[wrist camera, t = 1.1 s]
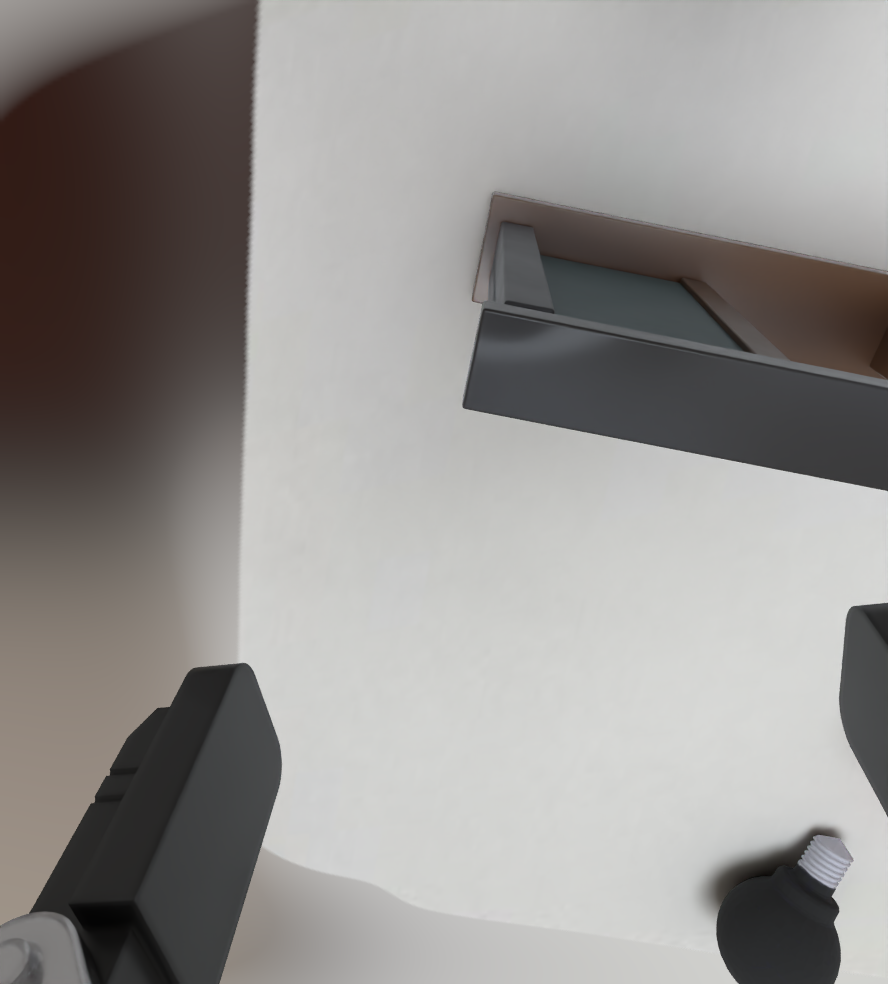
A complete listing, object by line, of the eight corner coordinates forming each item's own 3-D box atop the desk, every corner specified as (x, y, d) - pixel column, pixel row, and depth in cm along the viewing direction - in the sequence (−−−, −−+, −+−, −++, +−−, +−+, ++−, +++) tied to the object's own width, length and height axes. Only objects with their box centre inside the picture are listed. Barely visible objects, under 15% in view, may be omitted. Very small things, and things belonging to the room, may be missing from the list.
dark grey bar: (501, 220, 28) (505, 299, 18) (713, 263, 29) (841, 367, 18) (488, 285, 29) (483, 396, 19) (692, 326, 30) (800, 458, 19)
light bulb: (922, 900, 40) (822, 1060, 40) (864, 838, 46) (778, 977, 47) (810, 838, 40) (712, 998, 41) (768, 784, 46) (684, 924, 47)
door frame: (493, 191, 29) (489, 277, 16) (935, 280, 30) (1289, 436, 16) (472, 295, 31) (453, 451, 18) (888, 378, 32) (1173, 589, 18)
